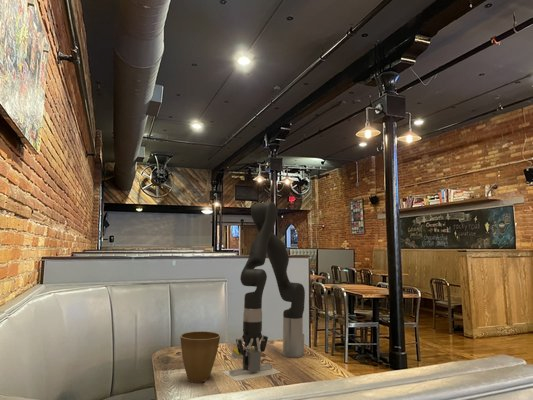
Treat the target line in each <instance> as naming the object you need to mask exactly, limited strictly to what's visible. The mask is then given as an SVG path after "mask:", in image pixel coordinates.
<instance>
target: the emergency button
mask: <svg viewBox="0 0 533 400" xmlns="http://www.w3.org/2000/svg"><path fill="white" fill-rule="evenodd" d="M252 348H253V349H255V348H254V346H252ZM243 349H244V348H243ZM228 356H229V357H230V358H231V359H234V360H235V359H243V355H241V354H239V353H238V348H233V349H232V353H231V354H229V355H228Z"/></svg>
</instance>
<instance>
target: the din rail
mask: <svg viewBox="0 0 533 400" xmlns="http://www.w3.org/2000/svg"><path fill="white" fill-rule="evenodd" d="M240 368H241V369H239V368H235V370H233V369H230V371H229V375H231V376H232V377H233V376H238V375H244V374H249V373H250V372H249V368H243V367H240ZM272 368H273V364H270V363H266V364H265V363H264V365H262V364H260V371H265V370H270V369H272ZM260 371H255V372H260Z"/></svg>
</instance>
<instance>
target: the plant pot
mask: <svg viewBox="0 0 533 400" xmlns="http://www.w3.org/2000/svg"><path fill="white" fill-rule="evenodd" d="M220 338H221V334H220V333H218V332H213V331H199V330H198V331H189V332H184V333H182V334H180V338H179V339H180V348H181V349H180V350H181V355H182V361H183V365H184V366H183V367H184V371H185V374H186V377H187V380H188V382H191V383H204V382H205V381H206V380H208V379H209V378H210V375H211V373H212V371H213V368H214V363H215V361H216V357H217V354H218V349H219V344H220Z"/></svg>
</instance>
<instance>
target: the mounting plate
mask: <svg viewBox="0 0 533 400" xmlns="http://www.w3.org/2000/svg"><path fill="white" fill-rule="evenodd" d="M264 364H265V363H264ZM264 364H263V363H261V365H264ZM241 368H242V367H240V368H238V369H241ZM235 369H236V368H235ZM235 369H234V368H233V369H232V370H235ZM230 370H231V369H230ZM230 370H224V371H221V373H222V374H223V375H225V376H227V377H228V378H230V379H232V380H233V381H235V383H236V382H241V381H246V380H251V379H256V378H261V377H266V376H271V375H277V374H281V373H282V372H281V371H279V370H277V369H275V368H274V367H272V369H270V370H265V371H260V372H250V373H249V374H244V375H238V376H233V377H232V376H231V375H229V371H230Z"/></svg>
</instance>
